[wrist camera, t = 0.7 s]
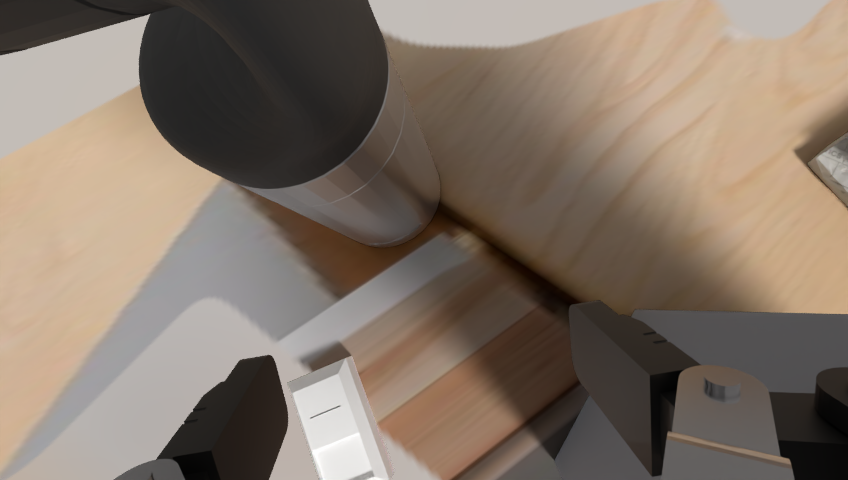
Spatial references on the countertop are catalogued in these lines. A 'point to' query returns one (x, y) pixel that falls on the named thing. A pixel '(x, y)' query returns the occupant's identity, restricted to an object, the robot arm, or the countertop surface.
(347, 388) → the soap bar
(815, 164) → the packaged product
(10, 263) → the countertop surface
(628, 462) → the bridge
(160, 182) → the countertop surface
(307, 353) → the countertop surface
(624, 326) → the robot arm
